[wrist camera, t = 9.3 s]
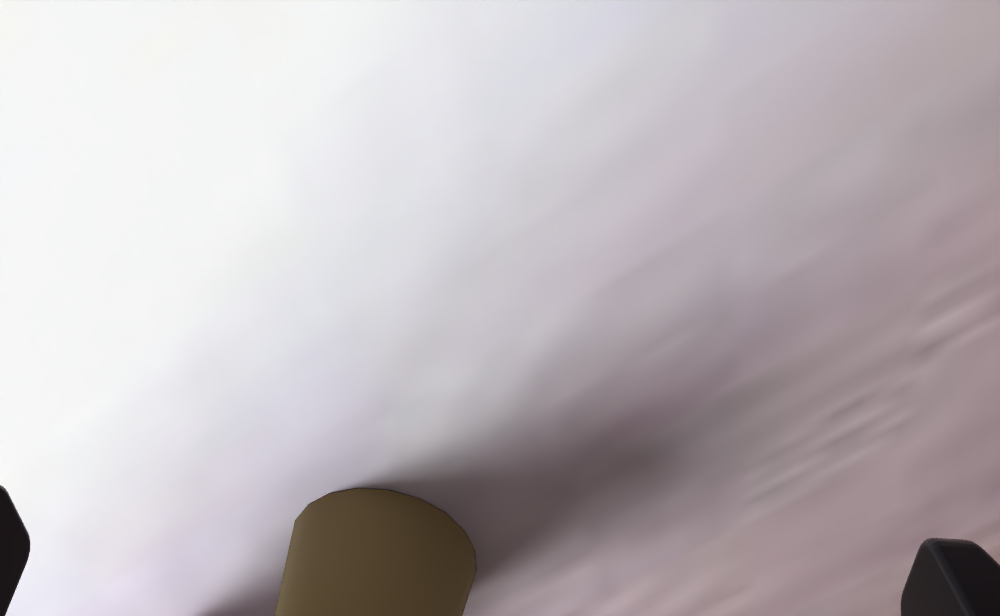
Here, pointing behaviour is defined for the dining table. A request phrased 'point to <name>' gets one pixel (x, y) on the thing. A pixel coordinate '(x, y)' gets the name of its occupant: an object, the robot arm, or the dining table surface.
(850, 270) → the dining table surface
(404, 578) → the olive drink cup
